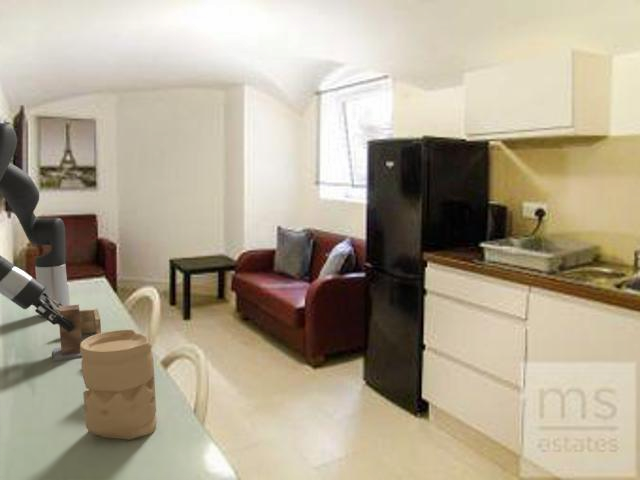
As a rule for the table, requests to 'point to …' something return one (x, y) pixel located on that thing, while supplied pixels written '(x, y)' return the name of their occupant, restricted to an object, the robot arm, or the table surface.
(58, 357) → the mat
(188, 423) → the table surface
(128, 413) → the container
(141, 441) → the table surface
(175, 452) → the table surface
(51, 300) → the robot arm
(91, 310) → the shelf end
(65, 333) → the plate
